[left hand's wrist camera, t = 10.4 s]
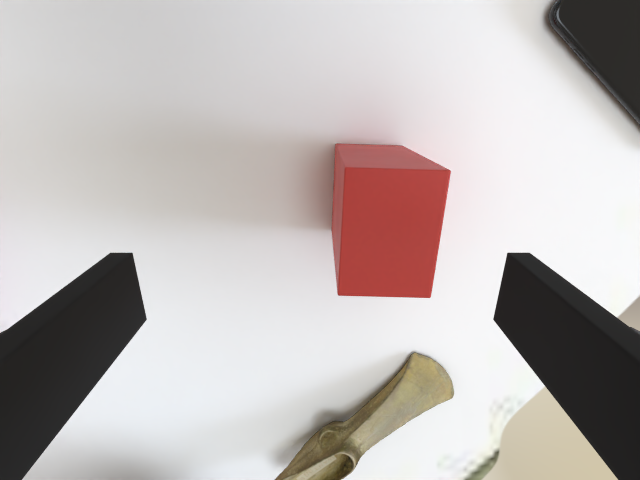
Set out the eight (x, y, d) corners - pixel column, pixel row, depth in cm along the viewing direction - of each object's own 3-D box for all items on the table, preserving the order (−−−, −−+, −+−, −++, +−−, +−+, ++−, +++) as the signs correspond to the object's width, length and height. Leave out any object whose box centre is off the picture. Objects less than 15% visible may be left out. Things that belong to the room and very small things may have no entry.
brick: (393, 232, 32) (431, 298, 21) (331, 230, 31) (337, 296, 21) (402, 145, 29) (451, 170, 18) (335, 143, 29) (344, 167, 18)
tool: (425, 339, 37) (442, 367, 32) (454, 381, 38) (473, 413, 34) (250, 443, 39) (244, 483, 35) (284, 478, 41) (282, 520, 37)
